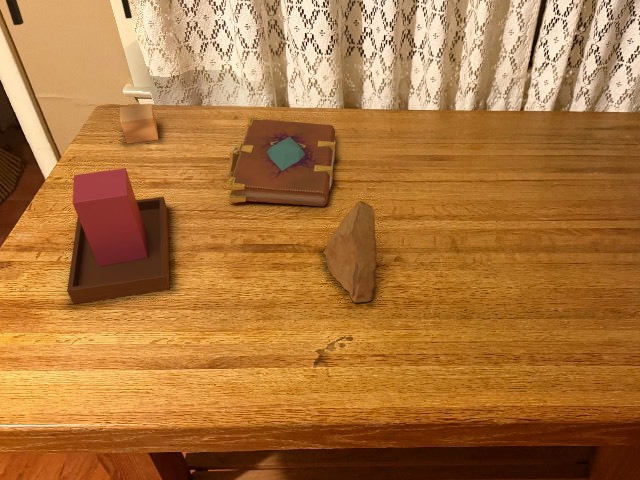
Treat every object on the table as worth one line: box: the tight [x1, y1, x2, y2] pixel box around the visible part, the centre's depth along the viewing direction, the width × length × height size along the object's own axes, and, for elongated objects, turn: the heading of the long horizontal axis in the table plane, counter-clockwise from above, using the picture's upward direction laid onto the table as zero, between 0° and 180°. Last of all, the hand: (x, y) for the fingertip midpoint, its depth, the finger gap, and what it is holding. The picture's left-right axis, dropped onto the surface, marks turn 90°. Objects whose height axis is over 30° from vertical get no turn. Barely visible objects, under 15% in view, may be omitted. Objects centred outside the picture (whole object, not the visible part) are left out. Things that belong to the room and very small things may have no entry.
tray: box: [66, 196, 171, 305], centre depth 78 cm, size 17×11×2 cm, turn 16°
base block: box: [119, 103, 159, 144], centre depth 99 cm, size 5×5×4 cm
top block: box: [71, 167, 148, 266], centre depth 75 cm, size 6×6×10 cm
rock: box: [323, 200, 377, 304], centre depth 75 cm, size 11×9×10 cm
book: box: [225, 115, 336, 207], centre depth 94 cm, size 16×25×5 cm, turn 1°
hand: (75, 21), depth 80 cm, fingers open, 13 cm apart
